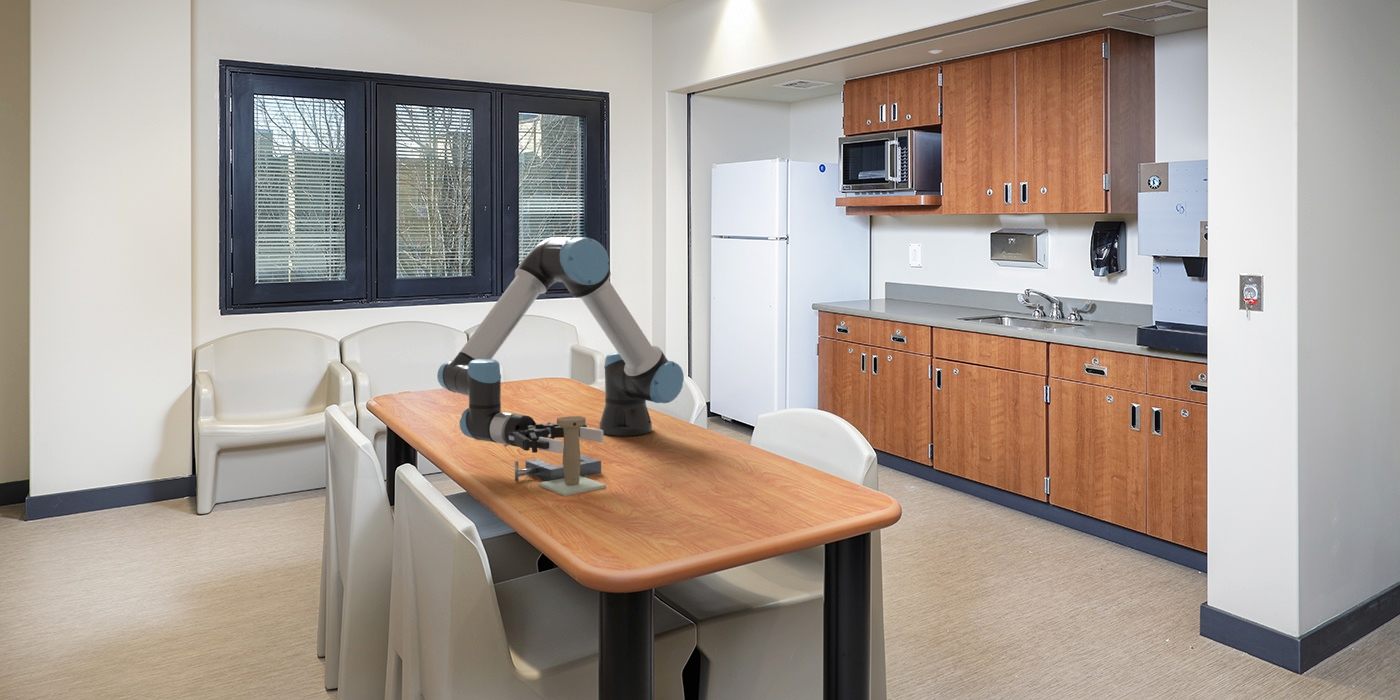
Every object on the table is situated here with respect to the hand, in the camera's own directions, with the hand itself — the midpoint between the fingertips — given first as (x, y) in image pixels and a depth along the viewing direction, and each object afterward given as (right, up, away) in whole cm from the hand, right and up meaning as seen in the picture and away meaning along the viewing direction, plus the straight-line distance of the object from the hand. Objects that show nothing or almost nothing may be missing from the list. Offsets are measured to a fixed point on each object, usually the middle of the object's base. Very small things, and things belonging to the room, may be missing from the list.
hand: (582, 441), depth 215 cm
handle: (-3, -10, +3) cm, 11 cm away
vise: (-8, -9, +13) cm, 18 cm away
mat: (-3, -10, +3) cm, 11 cm away
